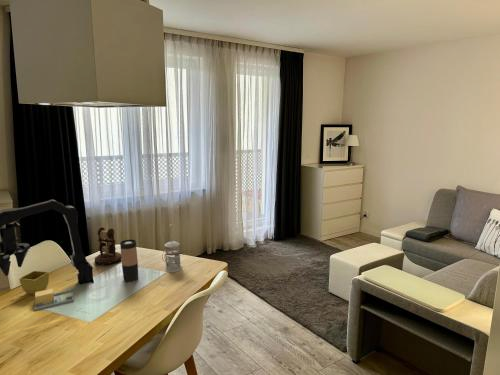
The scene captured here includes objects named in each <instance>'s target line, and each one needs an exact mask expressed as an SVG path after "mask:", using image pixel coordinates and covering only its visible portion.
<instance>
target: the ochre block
mask: <svg viewBox="0 0 500 375" xmlns="http://www.w3.org/2000/svg"><path fill="white" fill-rule="evenodd" d="M54 294H55V292H54V288H50V289H45V290H43V291H39V292H35V295H34V296H35V297H34V301H35V300H36V304H39V303H43V304H44V303H48V302H52V300H54Z"/></svg>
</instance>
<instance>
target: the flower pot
mask: <svg viewBox="0 0 500 375" xmlns="http://www.w3.org/2000/svg"><path fill="white" fill-rule="evenodd" d="M49 277H50V272H49V271H42V270H33V271H30V272H29V273H27V274H25V275H23V276H21V277H19V278H18V280H19V282H20V286H21V289H22V291H24V292H25V293H26V294H27V295H34V296H35V292H39V291H43V290H47V287H48V285H49V279H50V278H49Z"/></svg>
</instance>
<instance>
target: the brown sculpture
mask: <svg viewBox="0 0 500 375" xmlns="http://www.w3.org/2000/svg"><path fill="white" fill-rule="evenodd" d="M97 235H98V239H97V241H98V242H99V244H98V246H99V247H98V250H99V254H97V256H95V257H94V262H95V264H99V265H100V264H101V265H105V264H107V265H108V266H110V265H111V264H112V263H115V262H119V261H120V260H121V252H116V240H115V230H114V228H109V229H108V230H106V228H105V227H100V228H98V230H97Z"/></svg>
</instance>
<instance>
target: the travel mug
mask: <svg viewBox="0 0 500 375" xmlns="http://www.w3.org/2000/svg"><path fill="white" fill-rule="evenodd" d="M119 244H120V246H119V247H120V254H121V259H120V260H121V267H122V269H121V270H122V277H123V278H122V279H123V281H124V282H125V283H133V282H135V281H138V280H139V262H138V261H139V260H138V251H137V241H136V239H125V240H122V241H120V243H119Z"/></svg>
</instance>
